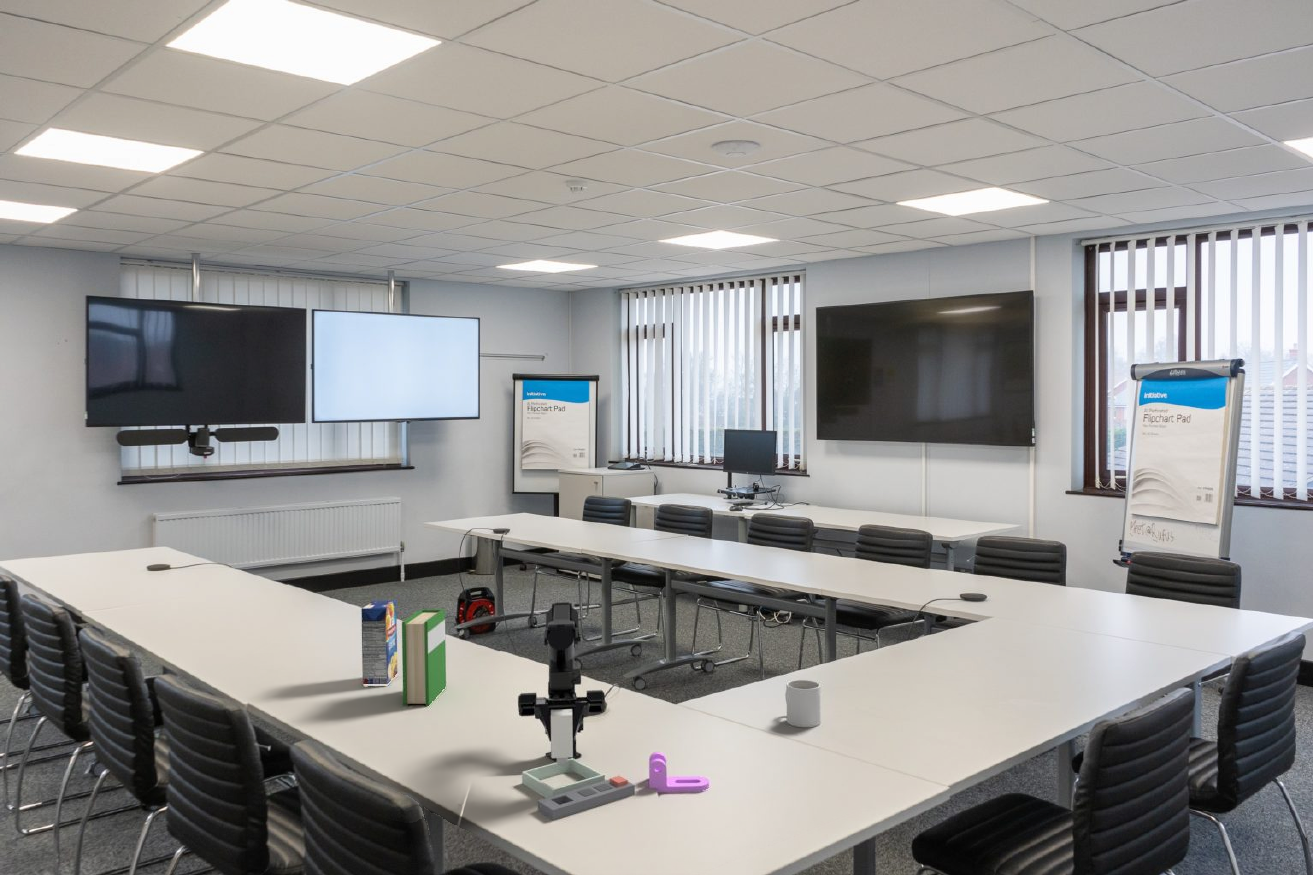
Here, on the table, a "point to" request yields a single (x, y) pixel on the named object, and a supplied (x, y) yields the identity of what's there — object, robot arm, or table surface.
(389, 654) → the juice carton
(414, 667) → the hardback book
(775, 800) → the table surface
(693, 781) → the bracket
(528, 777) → the tray
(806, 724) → the mug
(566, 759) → the white long block
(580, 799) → the power strip
